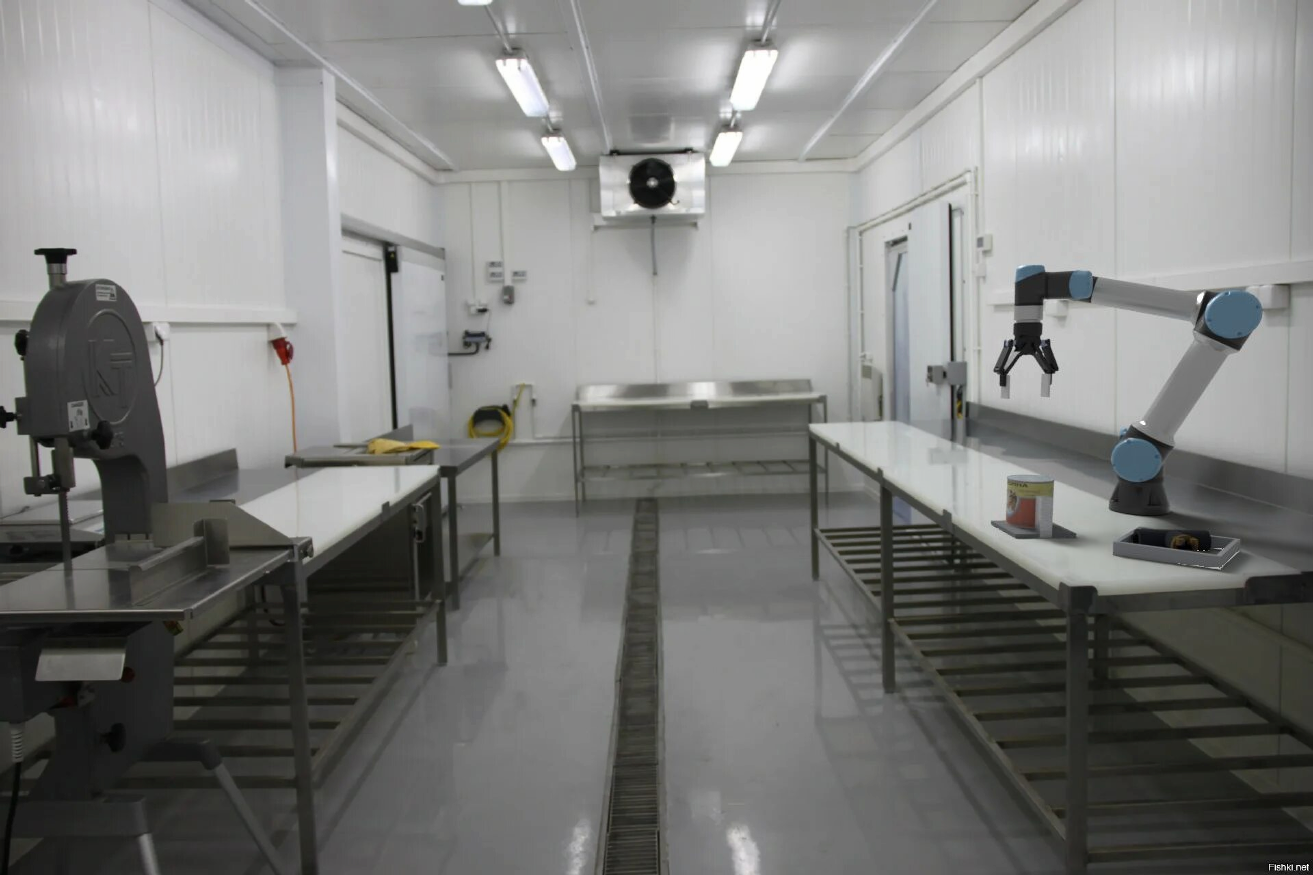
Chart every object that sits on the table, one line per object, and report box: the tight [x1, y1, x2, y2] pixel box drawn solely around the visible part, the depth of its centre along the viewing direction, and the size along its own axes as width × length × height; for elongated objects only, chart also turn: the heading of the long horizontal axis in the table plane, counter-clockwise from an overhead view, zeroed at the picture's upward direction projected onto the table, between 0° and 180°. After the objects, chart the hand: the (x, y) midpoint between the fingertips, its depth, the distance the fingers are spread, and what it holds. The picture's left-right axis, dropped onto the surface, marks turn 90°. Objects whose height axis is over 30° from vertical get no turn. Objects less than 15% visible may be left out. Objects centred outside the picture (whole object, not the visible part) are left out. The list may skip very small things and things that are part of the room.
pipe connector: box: [1133, 528, 1212, 552], centre depth 206 cm, size 12×5×15 cm
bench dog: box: [1035, 495, 1054, 539], centre depth 223 cm, size 3×3×10 cm
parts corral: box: [1112, 526, 1241, 568], centre depth 205 cm, size 21×21×3 cm
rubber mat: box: [990, 519, 1077, 539], centre depth 230 cm, size 16×15×1 cm
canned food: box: [1005, 474, 1055, 529], centre depth 232 cm, size 11×11×12 cm
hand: (1025, 397), depth 254 cm, fingers open, 13 cm apart
